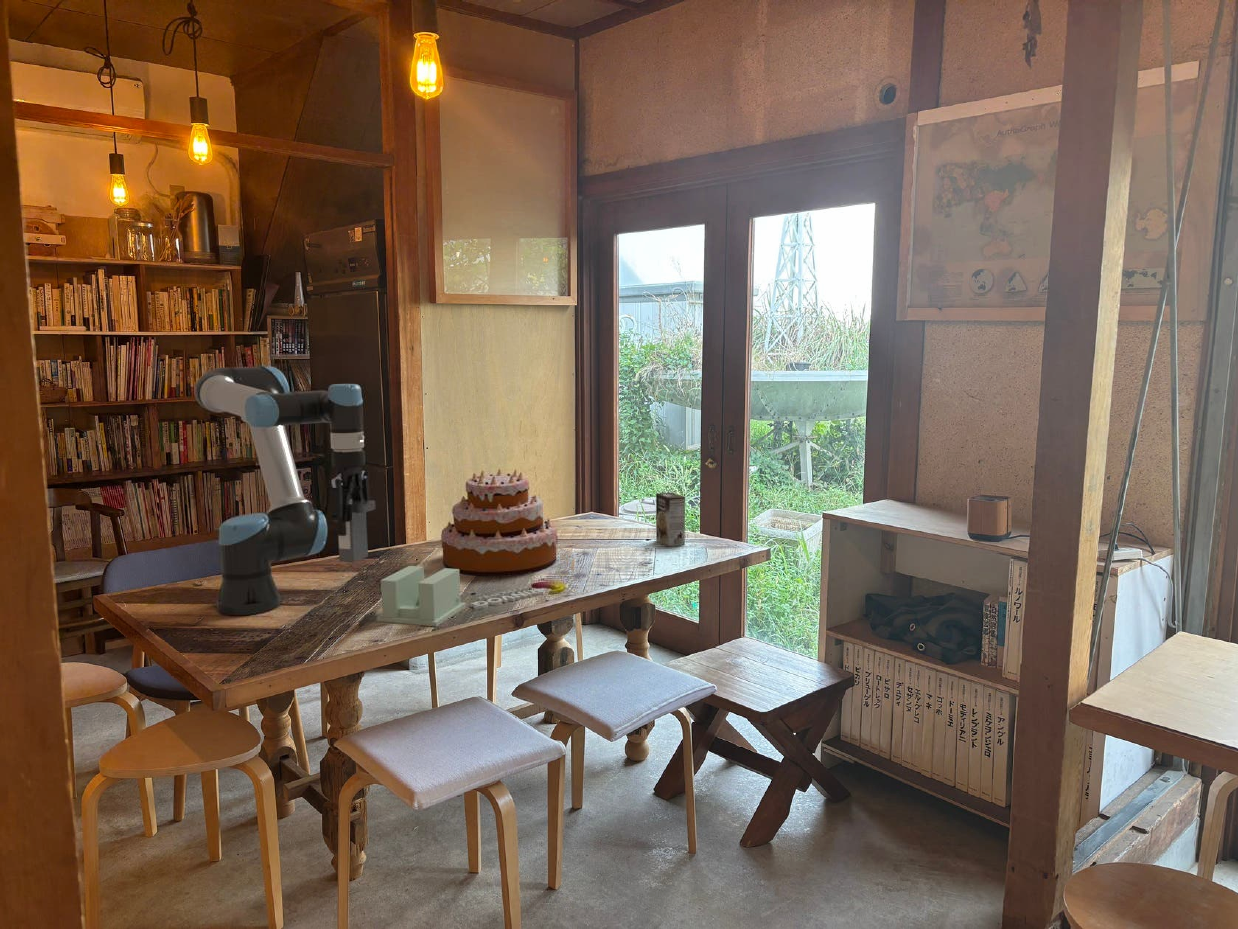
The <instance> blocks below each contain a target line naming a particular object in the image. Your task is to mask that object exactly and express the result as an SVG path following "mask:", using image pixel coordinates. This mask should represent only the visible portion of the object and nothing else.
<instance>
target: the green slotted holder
mask: <svg viewBox="0 0 1238 929" xmlns="http://www.w3.org/2000/svg"><path fill="white" fill-rule="evenodd" d="M424 568H425V567H424V566H420V565H419V566H418V565H416V566H415V565H409V566H407V567H403V568H402V569H400V570H398V571H396V572H394V573H392V574H390V575H388V576H386V577H384V578H382V579H381V580H380V593H381V611H382V612H381V614H380V615H378V616H376V622H384V623H394V624H396V623H397V624H407V625H418V626H430V627H438V626H440V625H441V624H442V623H444V622H445V621H447V620H448V619H450V618H451V617H453V616H454V615H456V614H457V613H459V612H460V611H462V610H464V609H465V608H466V607H467V603H466V602H461V580H460V575H461V574H459V569H448V568H445V567H444V568H443V569H441V570H439V571H437V572H435V573H433V574H432V575H430V576H428V577H427V578H425V572H424V570H425V569H424Z"/></svg>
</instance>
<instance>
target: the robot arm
mask: <svg viewBox="0 0 1238 929" xmlns="http://www.w3.org/2000/svg"><path fill="white" fill-rule="evenodd" d="M327 389H328V390H324V389H323V390H322V389H320V390H316V389H315V390H312V391H305V392H290V386H289V383H288V381H287V378H286V377H285V374H284V373H283V372H282V371H281V370H280V369H278V368H277V367H275V366H263V365H257V366H241V367H239V366H238V367H237V366H236V367H218V368H217V367H216V368H214V369H210V370H208V371H207V372H204V374H202V375H201V376H200V377H199V378H198V380H196V383H195V385H194V391H193V392H194V396H195V399H196V401H197V403H198V404H199V405H200V406H201V408H204V409H205V410H208V411H211V412H214V413H225V412H226V413H230V414H231V415H232V414H233V415H235V416H239V417H240V419H241V420H242V421H243V422H244V423H247V424H248V425H249V426H248V427H249V429H250V433H251V436H252V441H253V444H254V448H255V452H256V456H257V458H258V459H257V460H258V463H259V467H260V470H261V474H262V477H263V482H264V485H265V489H266V493H267V497H268V500H269V501H268V502H269V504H270V506H269V509H268V510H267V512H266V513H263V512H254V513H247V514H246V513H245V514H241V515H236V516H234V517H231V518H229V519H227V520H225V521H223V522H222V523H221V524H220V525H219V528H218V532H219V534H218V535H219V536H218V544H219V553H220V564H221V568H220V569H221V576H222V577H221V578H222V579H221V585H220V587H219V588H220V589H219V592H218V595H217V596H218V597H217V600H216V611H217V612H218V613H219V614H221V615H225V616H248V615H255V614H261V613H266V612H269V611H272V610H274V609H276V608H278V607H279V606H281V603H282V602H281V594H280V591H278V587H277V585H276V583H275V580H274V578H273V574H272V563H277V562H283V561H288V560H293V559H299V558H306V557H308V556H311V555H315V554H318V553H320V552H321V551H323V549H324V548H325V545H326V542H327V538H328V523H327V519H326V516H325V514H323V511H321V510H320V509H319V510H318V509H314V506H313V503H312V501H310V500H308V499H307V498H305V497H304V493H303V488H302V486H301V485H302V484H301V481H300V478H299V474H298V471H297V467H296V463H295V459H294V457H293V453H292V449H291V445H290V441H289V437H288V434H287V431H286V426H291V425H304V424H308V425H309V424H320V423H327V424H328V423H329V428H330V448H331V449H332V450H333V451H332V452H331V464H332V467H334V468H336V474H335V477H334V478H329V479H328V486H329V488H330V489H329V492H330V499H329V500H330V521H333V522H334V523H335V522H336V523H337V524H336V525H337V536H338V535H339V543H338V549H339V548H340V549H351V539H350V521H347V518H348V504H349V501H350V499H352V500H369V501H371V494H370V493H371V492H370V484H369V482H370V481H369V480H370V479H369V478H370V471H368V470H363V469H362V467H363V466H365V465H366V453H365V450H364V449H363V448H364V447H365V434H364V408H363V404H364V401H363V400H364V399H363V398H362V388H361V386H360V385H359V384H356V383H337V384H335V383H334V384H331V385H329V386H328V388H327ZM370 515H371V511H369V512H366V516H370Z"/></svg>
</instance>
